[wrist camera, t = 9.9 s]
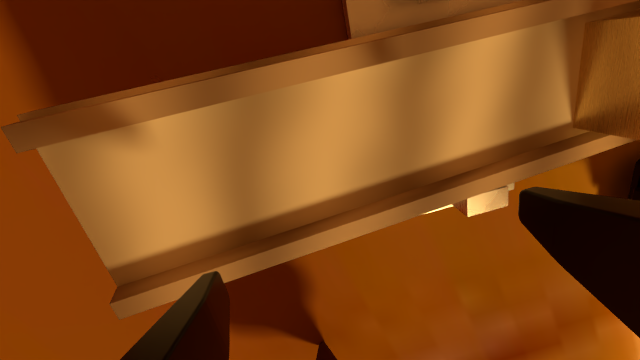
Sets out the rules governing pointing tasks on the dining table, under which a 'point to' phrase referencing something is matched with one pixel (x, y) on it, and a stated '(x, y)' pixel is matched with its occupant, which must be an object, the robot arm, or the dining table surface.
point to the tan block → (610, 77)
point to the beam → (316, 143)
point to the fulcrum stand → (410, 9)
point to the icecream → (324, 353)
